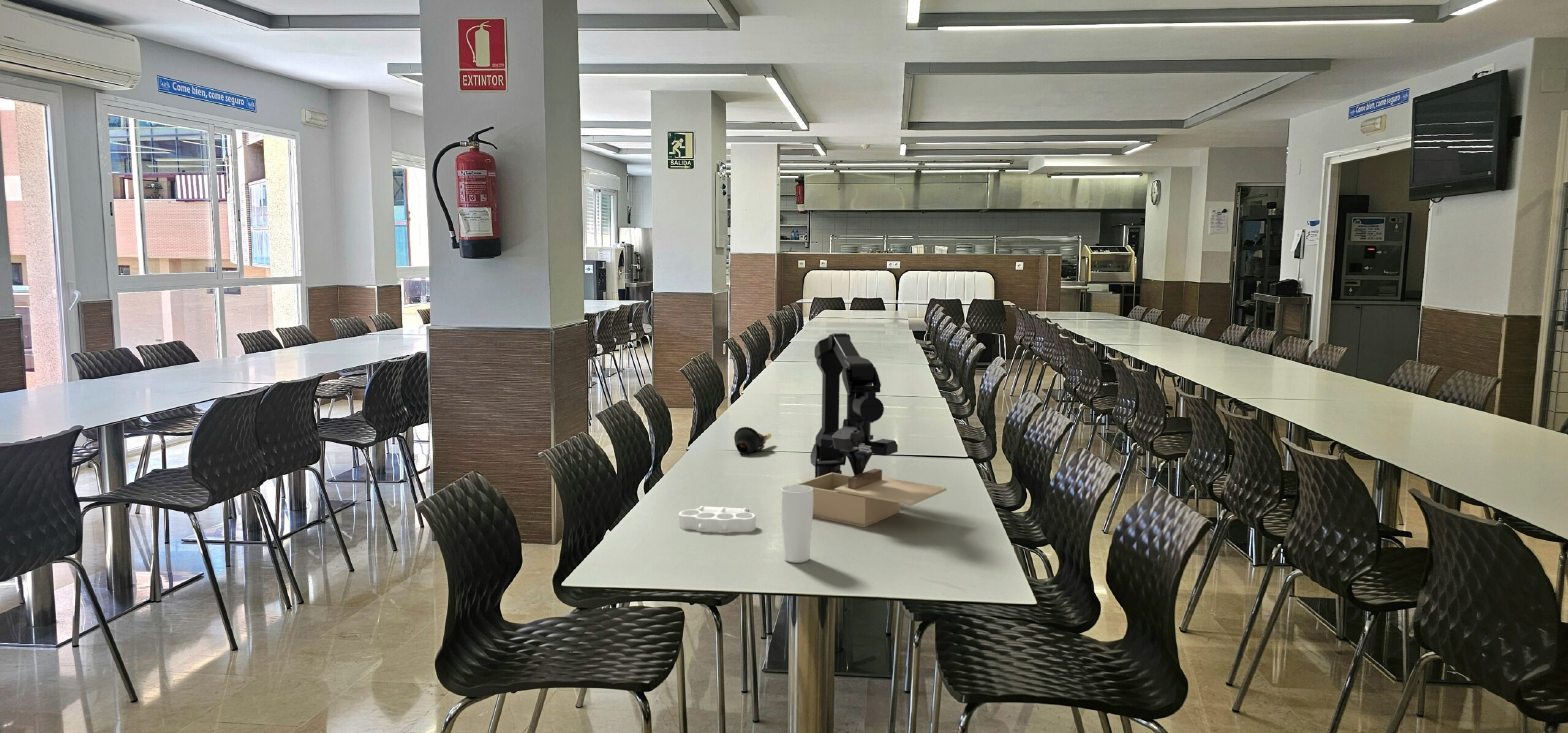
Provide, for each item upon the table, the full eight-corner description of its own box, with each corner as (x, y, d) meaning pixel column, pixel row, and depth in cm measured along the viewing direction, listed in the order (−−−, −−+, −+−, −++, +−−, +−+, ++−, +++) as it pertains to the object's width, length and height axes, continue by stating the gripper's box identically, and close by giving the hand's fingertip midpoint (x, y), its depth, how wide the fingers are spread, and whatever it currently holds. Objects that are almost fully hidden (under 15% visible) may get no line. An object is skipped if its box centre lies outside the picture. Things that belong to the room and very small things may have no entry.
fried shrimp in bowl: (723, 440, 291) (741, 413, 306) (740, 469, 294) (756, 441, 309) (748, 431, 287) (764, 405, 302) (764, 461, 290) (780, 433, 305)
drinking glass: (779, 554, 194) (779, 484, 193) (811, 554, 195) (811, 484, 193) (781, 565, 188) (781, 493, 186) (815, 564, 188) (815, 492, 186)
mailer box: (794, 512, 226) (794, 484, 225) (831, 499, 239) (831, 472, 238) (864, 527, 214) (865, 497, 213) (899, 512, 227) (900, 484, 226)
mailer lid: (834, 491, 218) (834, 478, 218) (871, 477, 231) (871, 465, 231) (912, 505, 206) (912, 491, 205) (946, 490, 219) (946, 477, 218)
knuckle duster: (762, 519, 222) (750, 538, 207) (689, 516, 224) (672, 533, 210) (762, 505, 221) (750, 523, 207) (689, 502, 224) (672, 519, 210)
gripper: (807, 415, 221) (806, 479, 223) (874, 423, 210) (873, 491, 212) (833, 409, 230) (832, 470, 232) (899, 417, 219) (898, 482, 220)
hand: (857, 478), depth 224 cm, fingers closed
